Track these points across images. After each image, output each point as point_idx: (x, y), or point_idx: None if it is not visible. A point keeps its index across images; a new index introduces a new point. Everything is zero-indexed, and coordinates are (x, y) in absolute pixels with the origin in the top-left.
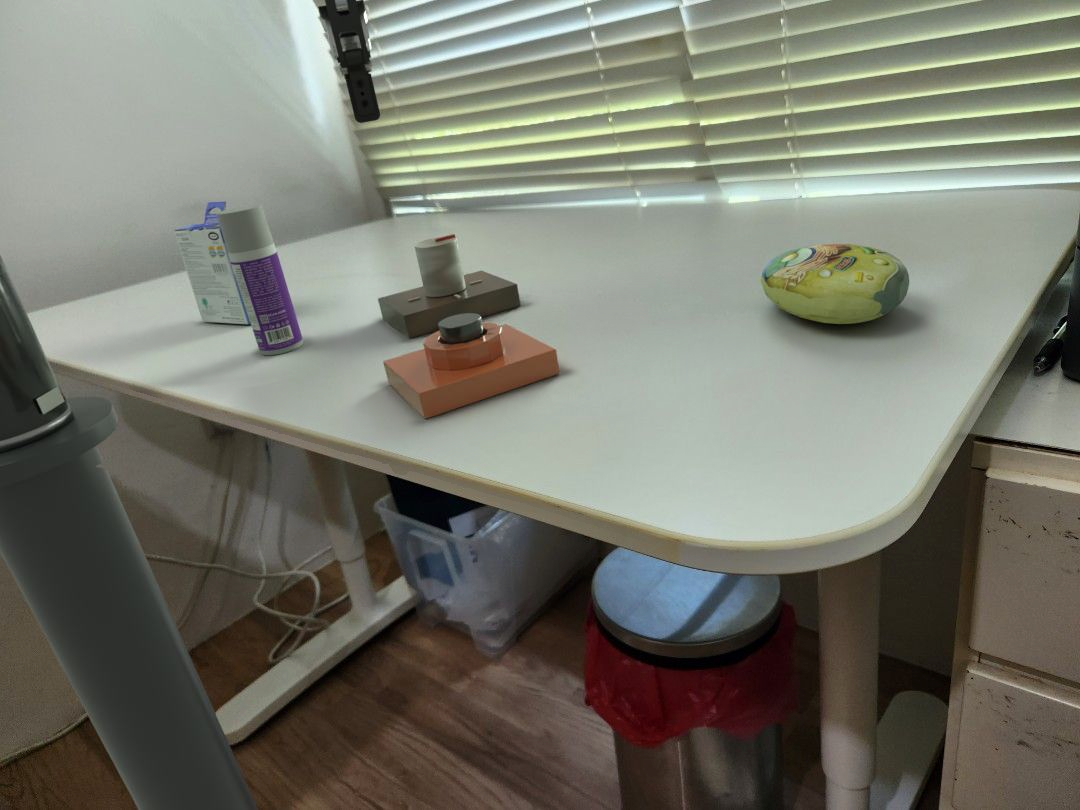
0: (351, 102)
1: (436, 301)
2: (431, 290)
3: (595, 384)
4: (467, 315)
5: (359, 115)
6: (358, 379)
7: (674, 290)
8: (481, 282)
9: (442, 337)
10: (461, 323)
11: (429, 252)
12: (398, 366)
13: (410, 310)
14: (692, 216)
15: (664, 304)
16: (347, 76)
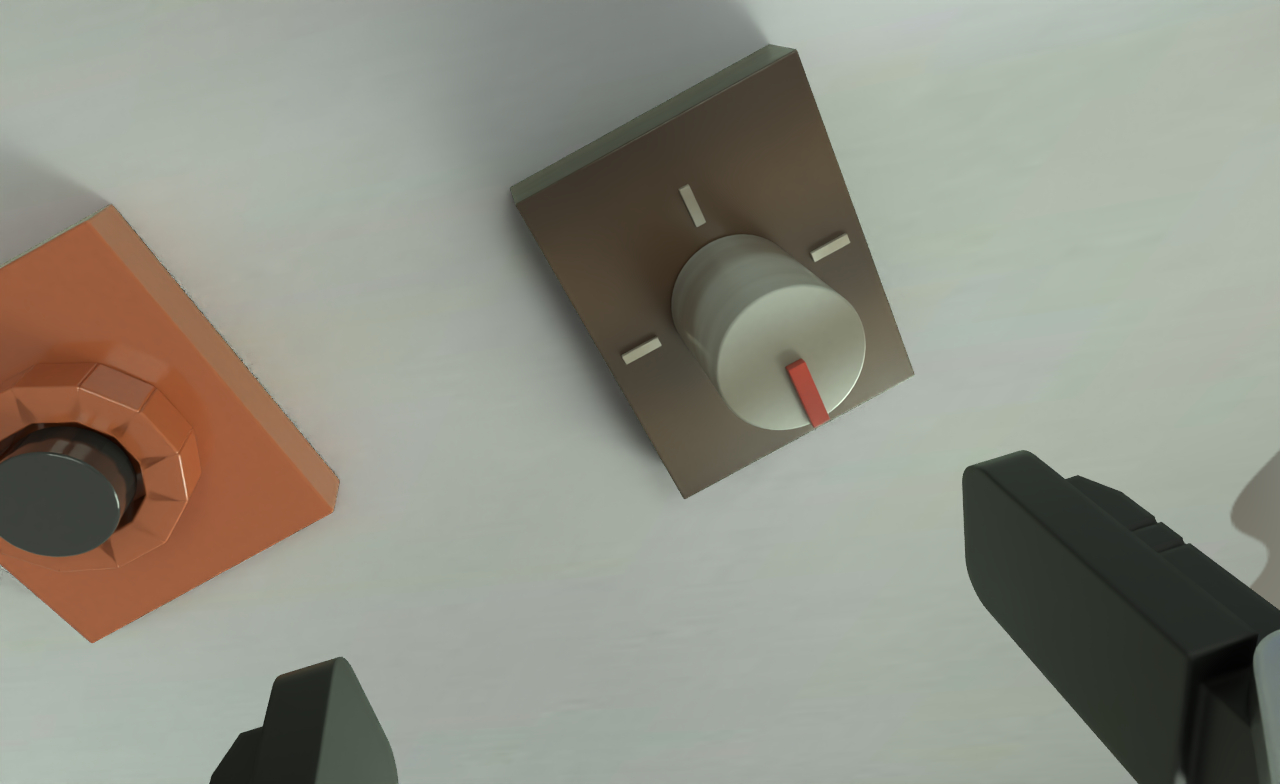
0: (250, 781)
1: (629, 287)
2: (687, 275)
3: (38, 671)
4: (90, 521)
5: (244, 736)
6: (173, 90)
7: (605, 765)
8: None
9: (12, 448)
10: (12, 518)
11: (711, 343)
12: (25, 282)
13: (568, 215)
14: None
15: (514, 753)
16: (1248, 687)
